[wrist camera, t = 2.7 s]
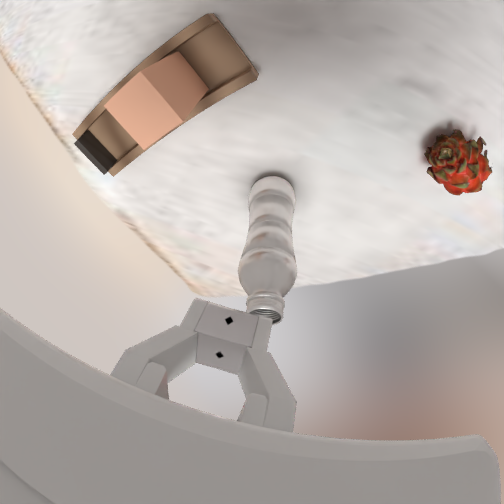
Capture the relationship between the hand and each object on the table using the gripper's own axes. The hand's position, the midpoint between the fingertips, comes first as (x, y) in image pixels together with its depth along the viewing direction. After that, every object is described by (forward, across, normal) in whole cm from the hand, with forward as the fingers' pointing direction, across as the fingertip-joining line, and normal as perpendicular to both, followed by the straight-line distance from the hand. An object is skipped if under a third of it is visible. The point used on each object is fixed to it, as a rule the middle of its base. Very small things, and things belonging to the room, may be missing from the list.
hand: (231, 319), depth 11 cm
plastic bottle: (+31, +1, +5) cm, 32 cm away
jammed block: (+24, +14, -8) cm, 29 cm away
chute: (+25, +17, -6) cm, 31 cm away
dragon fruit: (+30, -22, -9) cm, 39 cm away
